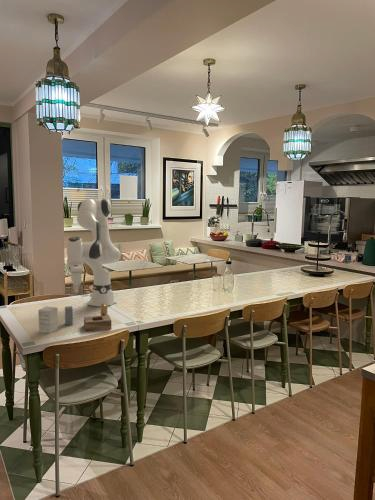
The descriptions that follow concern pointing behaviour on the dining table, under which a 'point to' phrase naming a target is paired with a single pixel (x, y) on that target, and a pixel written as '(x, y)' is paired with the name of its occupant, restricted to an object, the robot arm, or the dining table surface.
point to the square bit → (68, 316)
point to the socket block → (97, 323)
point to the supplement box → (48, 319)
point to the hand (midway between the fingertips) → (75, 290)
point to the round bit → (103, 309)
